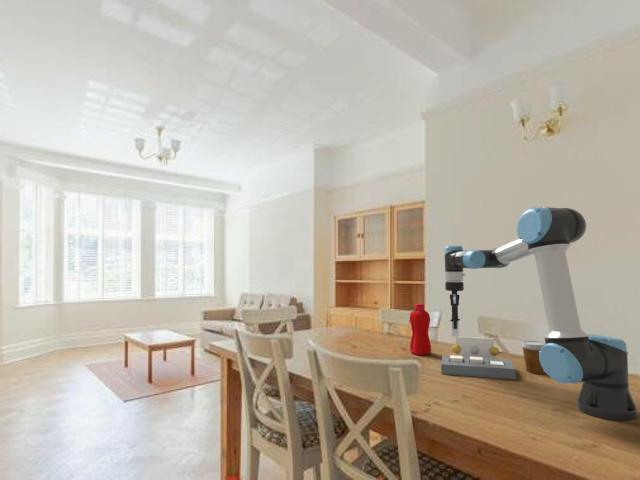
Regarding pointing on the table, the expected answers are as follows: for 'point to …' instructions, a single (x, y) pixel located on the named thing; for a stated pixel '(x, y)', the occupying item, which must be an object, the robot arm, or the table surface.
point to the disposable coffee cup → (532, 356)
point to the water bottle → (420, 331)
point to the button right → (496, 363)
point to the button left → (456, 358)
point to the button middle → (476, 360)
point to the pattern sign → (475, 347)
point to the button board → (479, 368)
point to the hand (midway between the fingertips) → (455, 336)
